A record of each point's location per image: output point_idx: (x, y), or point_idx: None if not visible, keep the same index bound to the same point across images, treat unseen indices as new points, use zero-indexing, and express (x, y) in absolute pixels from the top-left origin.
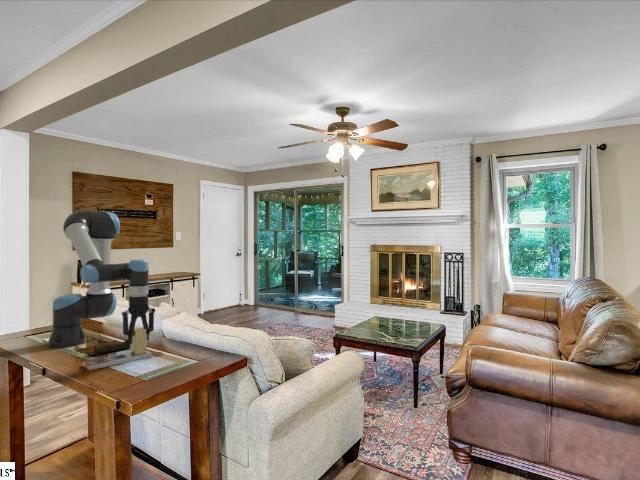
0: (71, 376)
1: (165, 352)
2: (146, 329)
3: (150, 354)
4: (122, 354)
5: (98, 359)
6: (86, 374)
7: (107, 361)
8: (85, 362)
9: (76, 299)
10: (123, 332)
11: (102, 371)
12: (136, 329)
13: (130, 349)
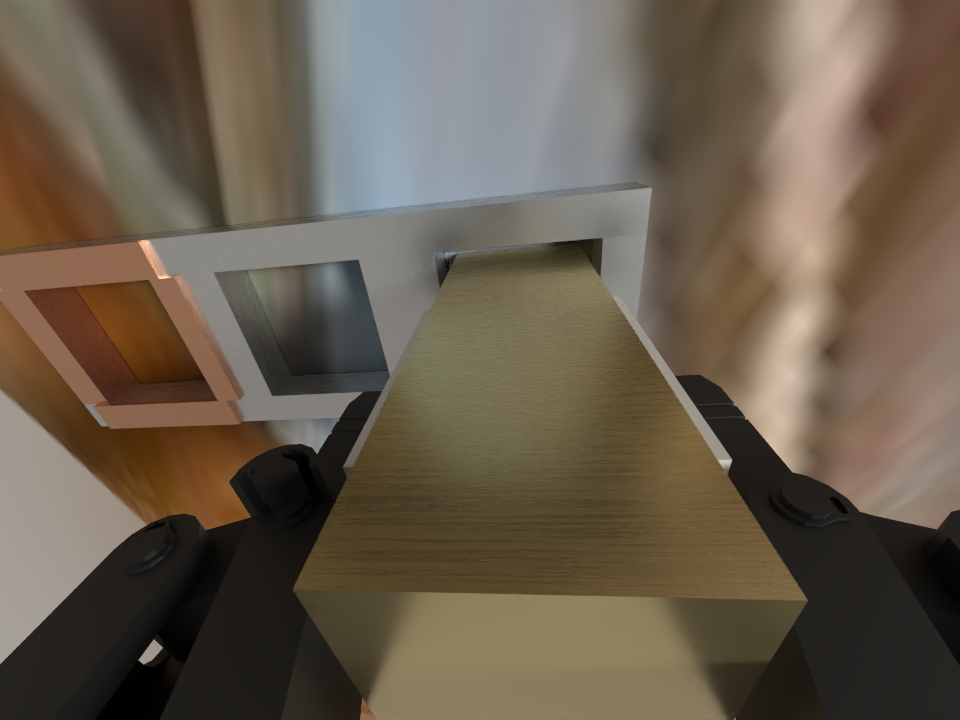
0: (58, 440)
1: (800, 337)
2: (749, 697)
3: None
4: (350, 259)
5: (114, 282)
6: (144, 459)
7: (222, 412)
8: (13, 301)
9: None
10: (104, 597)
11: (232, 467)
12: (456, 699)
13: (423, 321)
